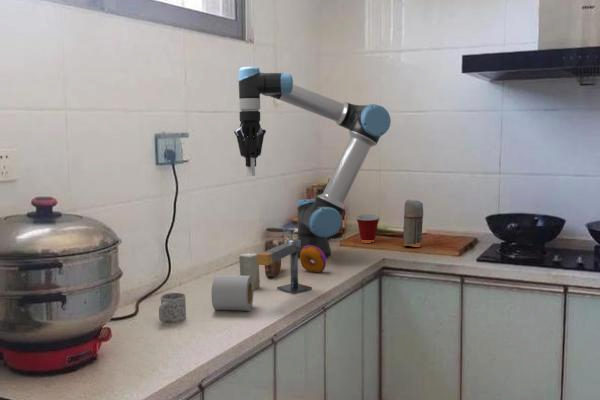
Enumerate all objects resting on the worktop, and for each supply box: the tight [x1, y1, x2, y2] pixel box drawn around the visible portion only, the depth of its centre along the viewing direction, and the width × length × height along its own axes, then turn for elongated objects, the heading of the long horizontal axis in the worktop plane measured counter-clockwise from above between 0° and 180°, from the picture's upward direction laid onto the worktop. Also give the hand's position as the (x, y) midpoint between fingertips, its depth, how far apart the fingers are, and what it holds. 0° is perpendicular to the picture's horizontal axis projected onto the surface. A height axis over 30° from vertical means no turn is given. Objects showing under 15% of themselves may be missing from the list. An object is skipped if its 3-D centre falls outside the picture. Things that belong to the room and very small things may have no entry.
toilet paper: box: [210, 274, 255, 312], centre depth 186 cm, size 10×10×10 cm
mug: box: [158, 292, 187, 324], centre depth 176 cm, size 10×7×7 cm, turn 159°
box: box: [238, 252, 261, 290], centre depth 209 cm, size 5×4×11 cm
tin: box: [264, 258, 282, 278], centre depth 227 cm, size 15×3×8 cm, turn 168°
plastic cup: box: [355, 213, 381, 240], centre depth 283 cm, size 11×11×12 cm
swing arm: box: [256, 238, 301, 266], centre depth 196 cm, size 24×4×3 cm, turn 156°
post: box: [276, 251, 313, 295], centre depth 206 cm, size 8×8×12 cm
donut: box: [299, 245, 327, 273], centre depth 229 cm, size 8×9×10 cm
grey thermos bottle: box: [402, 199, 424, 244], centre depth 273 cm, size 8×8×20 cm
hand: (251, 175), depth 234 cm, fingers closed
